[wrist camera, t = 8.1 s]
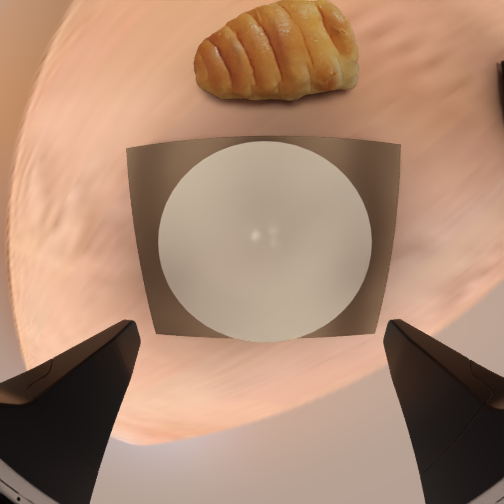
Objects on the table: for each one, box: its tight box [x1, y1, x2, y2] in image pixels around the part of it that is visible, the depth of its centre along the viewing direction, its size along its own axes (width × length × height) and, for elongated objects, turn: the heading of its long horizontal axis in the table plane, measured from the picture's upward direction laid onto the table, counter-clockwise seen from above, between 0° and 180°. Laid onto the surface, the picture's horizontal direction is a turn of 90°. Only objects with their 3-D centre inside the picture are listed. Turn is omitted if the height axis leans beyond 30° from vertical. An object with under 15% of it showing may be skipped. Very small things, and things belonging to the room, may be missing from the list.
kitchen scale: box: [126, 136, 401, 343], centre depth 17 cm, size 16×13×3 cm
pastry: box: [194, 0, 359, 101], centre depth 12 cm, size 9×7×4 cm
